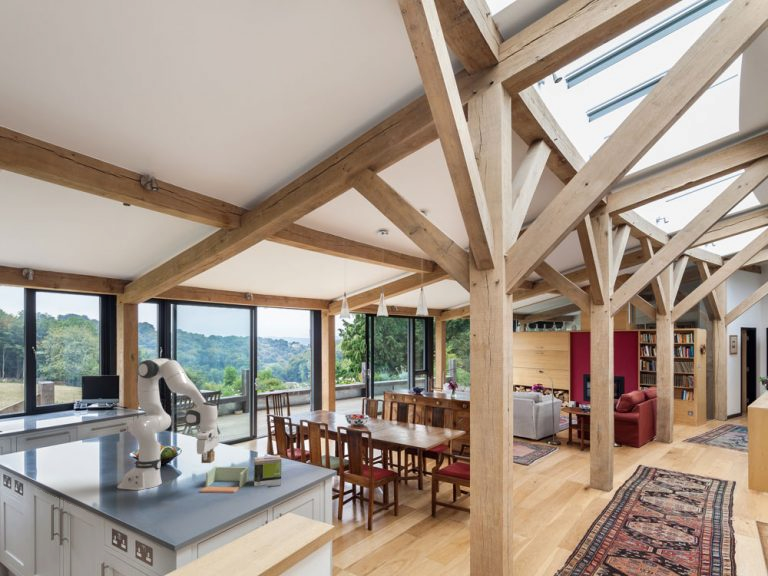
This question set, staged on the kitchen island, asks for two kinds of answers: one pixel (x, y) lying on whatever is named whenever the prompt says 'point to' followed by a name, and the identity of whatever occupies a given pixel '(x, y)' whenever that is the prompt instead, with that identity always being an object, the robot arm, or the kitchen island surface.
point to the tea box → (267, 470)
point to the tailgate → (220, 489)
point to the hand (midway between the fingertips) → (208, 458)
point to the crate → (227, 475)
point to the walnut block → (209, 457)
